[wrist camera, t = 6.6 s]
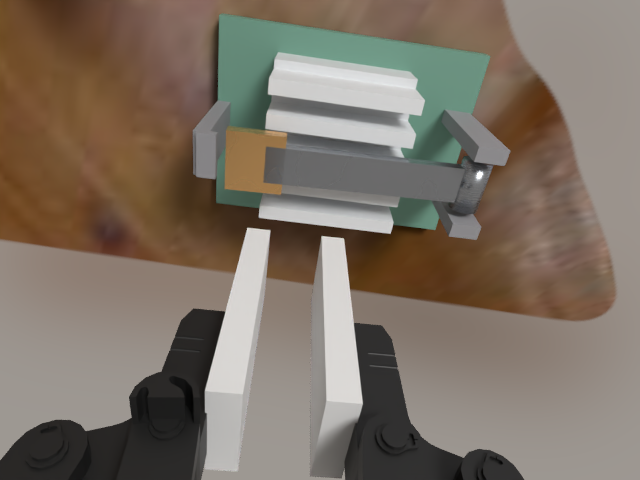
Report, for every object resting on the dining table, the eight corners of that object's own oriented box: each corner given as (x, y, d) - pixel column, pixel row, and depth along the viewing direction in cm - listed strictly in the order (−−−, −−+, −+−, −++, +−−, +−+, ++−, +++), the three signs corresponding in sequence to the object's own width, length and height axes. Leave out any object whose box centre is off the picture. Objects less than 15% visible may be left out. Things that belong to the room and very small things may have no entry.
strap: (227, 180, 24) (223, 192, 23) (229, 123, 22) (224, 132, 21) (469, 205, 26) (479, 218, 24) (487, 154, 24) (499, 165, 23)
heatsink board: (219, 196, 32) (191, 257, 25) (222, 13, 26) (186, 27, 19) (432, 223, 33) (461, 288, 26) (484, 53, 27) (541, 80, 20)
